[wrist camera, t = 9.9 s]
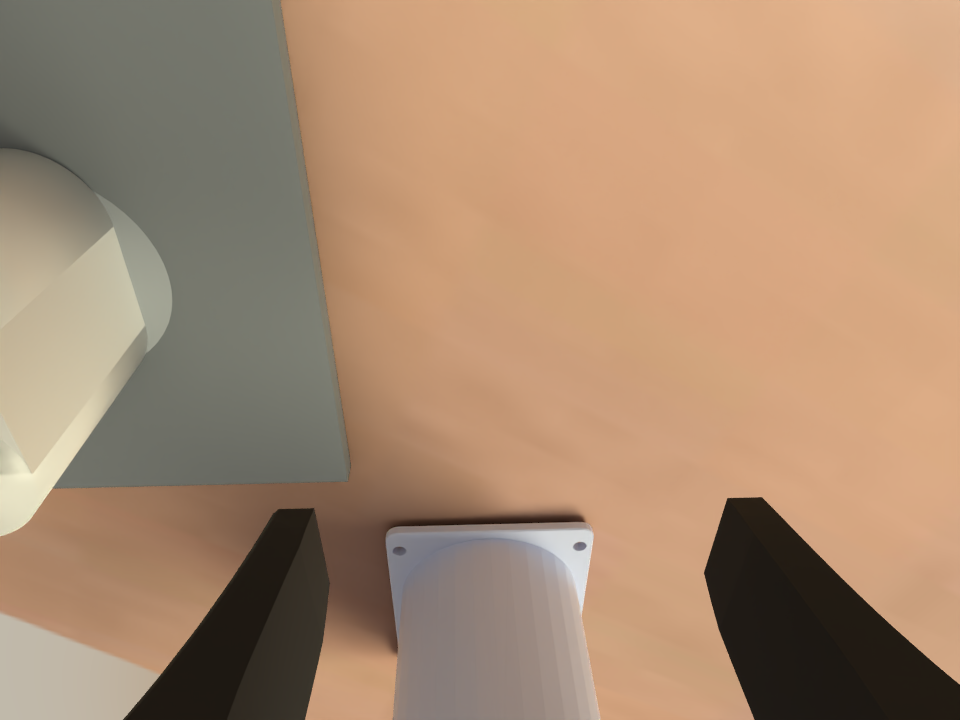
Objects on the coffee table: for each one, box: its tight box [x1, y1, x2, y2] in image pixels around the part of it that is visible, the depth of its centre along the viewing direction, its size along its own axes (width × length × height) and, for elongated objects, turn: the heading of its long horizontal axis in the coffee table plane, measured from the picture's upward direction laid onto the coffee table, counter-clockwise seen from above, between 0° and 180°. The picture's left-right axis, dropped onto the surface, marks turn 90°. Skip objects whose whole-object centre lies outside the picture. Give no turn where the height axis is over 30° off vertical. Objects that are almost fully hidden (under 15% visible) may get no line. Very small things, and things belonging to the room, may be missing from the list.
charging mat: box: [0, 0, 351, 489], centre depth 18 cm, size 16×14×1 cm
